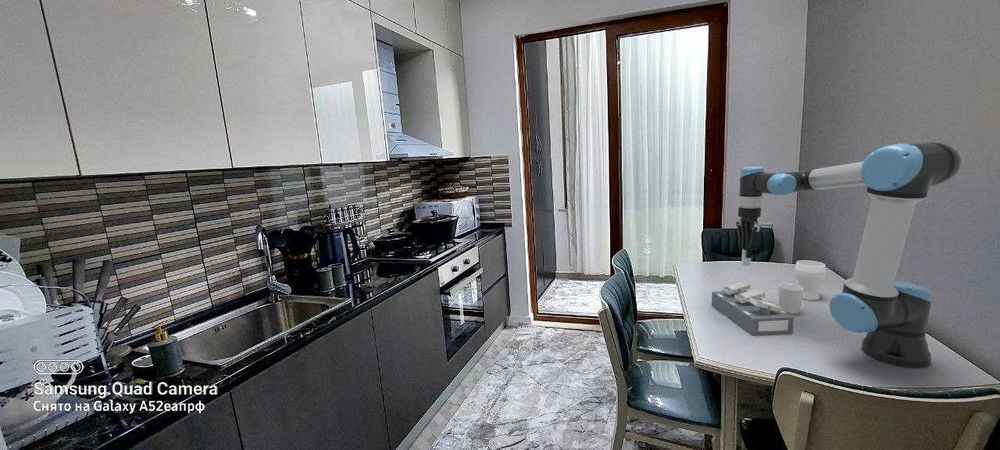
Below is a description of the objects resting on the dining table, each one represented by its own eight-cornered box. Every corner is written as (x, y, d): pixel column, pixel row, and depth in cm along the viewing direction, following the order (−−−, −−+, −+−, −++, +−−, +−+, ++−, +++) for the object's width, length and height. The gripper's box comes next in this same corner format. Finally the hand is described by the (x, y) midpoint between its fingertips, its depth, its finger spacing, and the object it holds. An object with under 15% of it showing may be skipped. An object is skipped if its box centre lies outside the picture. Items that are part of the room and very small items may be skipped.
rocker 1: (751, 288, 158) (750, 284, 157) (729, 295, 158) (728, 291, 158) (743, 284, 163) (742, 280, 162) (722, 290, 163) (721, 287, 163)
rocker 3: (780, 312, 140) (782, 308, 140) (756, 306, 140) (758, 301, 140) (770, 307, 146) (772, 302, 145) (747, 300, 145) (749, 296, 145)
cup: (829, 298, 167) (832, 264, 164) (813, 303, 163) (816, 268, 161) (802, 291, 177) (805, 258, 174) (786, 295, 173) (789, 262, 170)
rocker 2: (766, 296, 149) (765, 292, 149) (742, 303, 149) (741, 299, 149) (757, 292, 154) (756, 287, 154) (734, 298, 155) (733, 294, 154)
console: (792, 333, 139) (794, 312, 138) (752, 335, 139) (753, 314, 138) (745, 303, 167) (746, 286, 165) (711, 305, 167) (712, 287, 166)
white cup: (805, 315, 153) (807, 290, 151) (782, 314, 155) (784, 290, 153) (795, 307, 161) (796, 283, 159) (773, 306, 162) (774, 283, 160)
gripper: (770, 208, 148) (766, 269, 152) (749, 203, 161) (745, 260, 165) (750, 209, 148) (746, 270, 152) (730, 204, 161) (727, 260, 165)
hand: (745, 264), depth 159 cm, fingers closed
